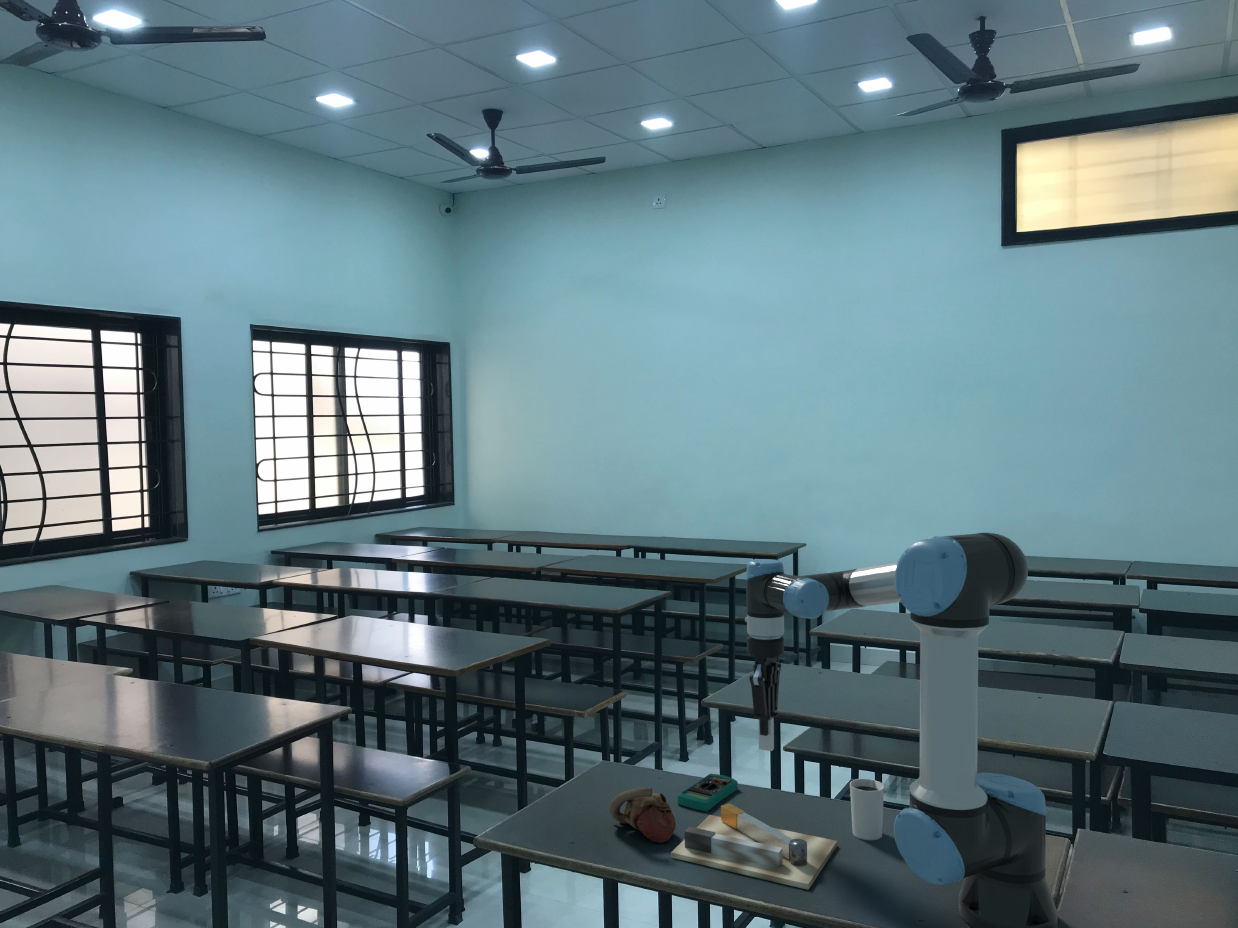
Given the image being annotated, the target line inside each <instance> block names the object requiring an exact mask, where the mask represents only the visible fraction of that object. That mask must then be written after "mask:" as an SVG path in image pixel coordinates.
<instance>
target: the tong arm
mask: <svg viewBox="0 0 1238 928" xmlns="http://www.w3.org/2000/svg"><path fill="white" fill-rule="evenodd" d="M720 817H721V821H723V822H724V823H726V824H728V825H730V826H731V827H733V828H735V829H737V830H739V831H741V832H742V833H744V834H746V835H748V836H749V837H751V838H753V839H754V840H756V841H758V842H759V843H762V844H766V845H771V846H775V847H780V848H782V856H783V857H785V858H787V859H789V860H790V863H792V864H794V865H797V866H802V865H806V864H807V842H806V841H805V840H802V839H792V838H790V837H788V836H786V835H784V834H783V833H781V832H779V831H777V830H775V829H774V828H775V827H771V826H770V825H769V824H766V823H765V822H763V821H761V820H759V819H757V818H756V817H754V816H752V815H750V814H748V813H746V811H744V810H742V809H741V808H739V807H737V806H735V805H734V804H732V803H725V804H723V805H720Z"/></svg>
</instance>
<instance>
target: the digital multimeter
mask: <svg viewBox="0 0 1238 928" xmlns="http://www.w3.org/2000/svg"><path fill="white" fill-rule="evenodd" d="M738 783H739V782H738V781H737V780H736V779H735V778H732V777H730V776H727V775H722V774H718V773H709V774H707V775H706V776H705V777H703V778H701V779H700V780H699V781H697V782H696V783H694V784H693V785H691V786H689V787H688V788H685V789H684V790H683V791H681V792H680V793H678V794H677V804H678V805H680V806H682V807H686V808H689V809H692V810H697V811H701V812H709V811H710V810H711V809H712V808H714V807H715V806H716V805H718V803H720V802H721V801H723V800H725V798H727V797H728V796H730V795H732V794H733V793H735V792H736V791H738V789H739V787H738V786H737V785H739V784H738Z"/></svg>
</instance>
